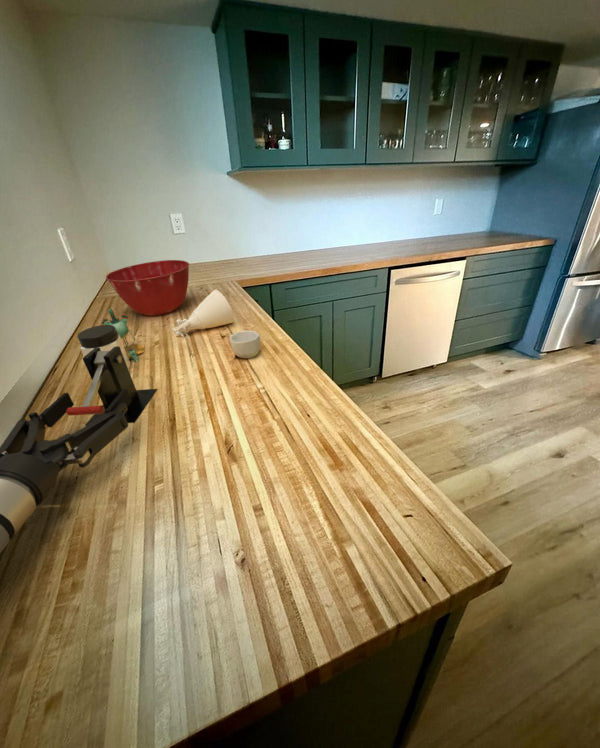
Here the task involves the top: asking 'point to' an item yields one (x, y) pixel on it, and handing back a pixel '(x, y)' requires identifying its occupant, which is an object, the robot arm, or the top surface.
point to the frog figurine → (123, 331)
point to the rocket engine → (207, 314)
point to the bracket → (117, 384)
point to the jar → (101, 340)
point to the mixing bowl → (152, 286)
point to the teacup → (245, 343)
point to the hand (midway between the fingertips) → (98, 397)
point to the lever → (92, 390)
